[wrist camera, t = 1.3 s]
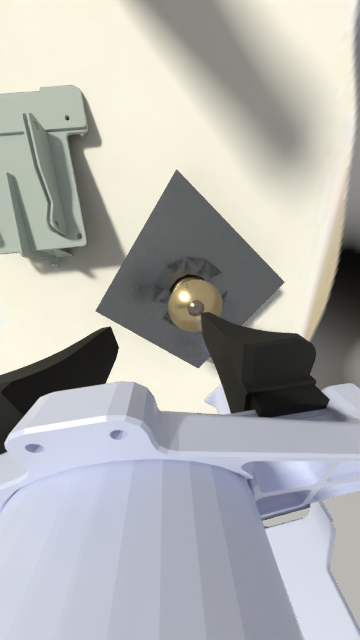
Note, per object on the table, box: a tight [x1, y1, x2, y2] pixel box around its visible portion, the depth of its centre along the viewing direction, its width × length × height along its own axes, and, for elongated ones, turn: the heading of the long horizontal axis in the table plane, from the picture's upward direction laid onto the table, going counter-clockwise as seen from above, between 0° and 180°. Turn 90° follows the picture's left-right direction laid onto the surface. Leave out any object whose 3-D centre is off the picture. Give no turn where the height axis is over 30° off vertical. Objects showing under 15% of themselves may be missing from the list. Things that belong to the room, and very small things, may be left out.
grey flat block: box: [96, 169, 284, 368], centre depth 19 cm, size 16×16×4 cm
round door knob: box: [168, 274, 223, 332], centre depth 17 cm, size 5×5×7 cm
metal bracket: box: [0, 85, 88, 266], centre depth 15 cm, size 14×6×15 cm
